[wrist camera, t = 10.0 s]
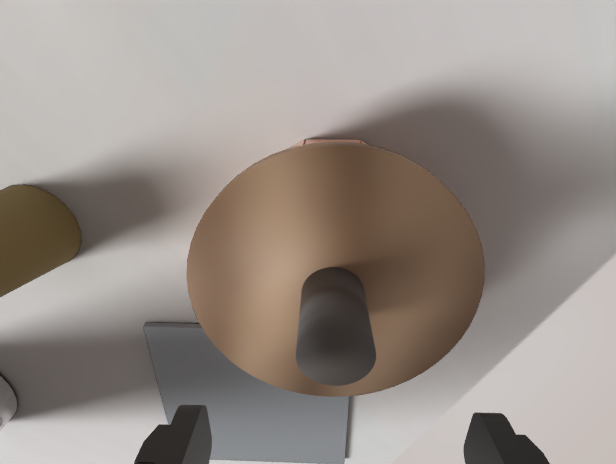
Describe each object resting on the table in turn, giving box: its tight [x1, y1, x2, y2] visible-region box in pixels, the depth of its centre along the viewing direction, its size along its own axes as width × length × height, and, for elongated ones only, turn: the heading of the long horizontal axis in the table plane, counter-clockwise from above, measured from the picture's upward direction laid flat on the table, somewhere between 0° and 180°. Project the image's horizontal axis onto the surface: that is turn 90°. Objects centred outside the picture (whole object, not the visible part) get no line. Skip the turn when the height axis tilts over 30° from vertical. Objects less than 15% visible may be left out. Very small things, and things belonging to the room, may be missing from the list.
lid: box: [187, 141, 484, 397], centre depth 15 cm, size 14×14×5 cm
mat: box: [143, 322, 349, 464], centre depth 30 cm, size 16×16×1 cm
